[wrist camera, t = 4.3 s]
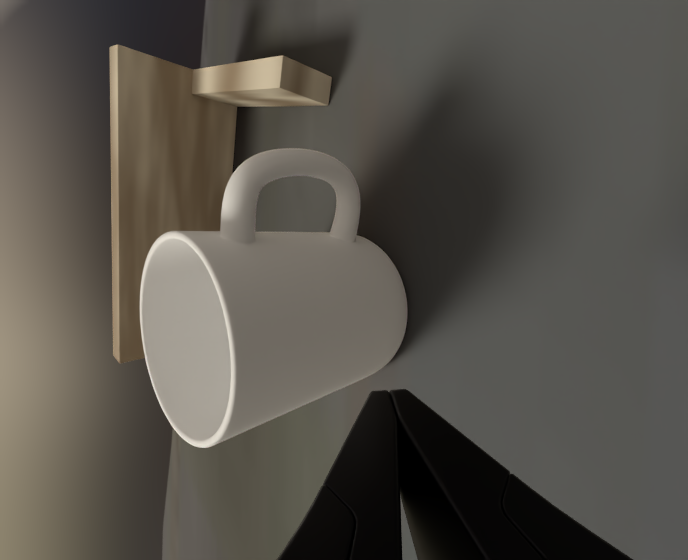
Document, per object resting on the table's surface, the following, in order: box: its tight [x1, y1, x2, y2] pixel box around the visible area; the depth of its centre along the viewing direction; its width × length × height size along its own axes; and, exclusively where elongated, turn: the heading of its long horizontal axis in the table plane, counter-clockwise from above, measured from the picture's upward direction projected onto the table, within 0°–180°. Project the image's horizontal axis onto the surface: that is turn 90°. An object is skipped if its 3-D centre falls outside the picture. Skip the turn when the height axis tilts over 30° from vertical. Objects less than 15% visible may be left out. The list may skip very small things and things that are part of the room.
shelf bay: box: [110, 45, 332, 363], centre depth 24 cm, size 12×21×8 cm, turn 168°
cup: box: [140, 148, 408, 448], centre depth 17 cm, size 8×12×10 cm
